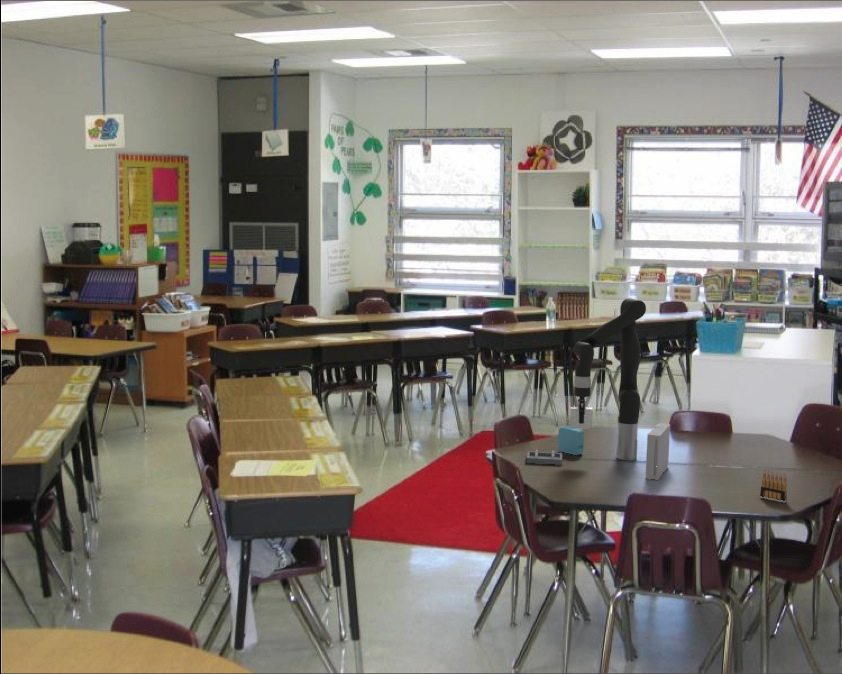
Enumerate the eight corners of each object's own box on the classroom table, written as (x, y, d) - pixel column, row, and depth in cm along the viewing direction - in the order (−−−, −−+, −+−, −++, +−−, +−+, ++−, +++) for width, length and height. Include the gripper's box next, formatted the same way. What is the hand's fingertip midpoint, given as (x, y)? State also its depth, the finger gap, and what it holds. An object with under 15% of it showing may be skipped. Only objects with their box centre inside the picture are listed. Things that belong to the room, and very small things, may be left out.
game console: (644, 479, 490) (646, 434, 487) (655, 465, 515) (657, 423, 512) (657, 480, 488) (660, 435, 485) (668, 466, 513) (670, 424, 510)
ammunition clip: (759, 498, 462) (761, 470, 461) (761, 497, 464) (763, 469, 462) (784, 503, 455) (786, 474, 454) (786, 502, 457) (788, 474, 455)
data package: (583, 454, 533) (584, 430, 531) (577, 456, 529) (578, 431, 528) (563, 450, 541) (564, 425, 540) (557, 451, 538) (558, 427, 537)
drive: (591, 426, 518) (592, 407, 516) (592, 428, 513) (592, 409, 512) (570, 425, 519) (570, 406, 518) (570, 427, 514) (570, 408, 513)
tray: (561, 458, 524) (562, 450, 523) (561, 465, 511) (562, 456, 510) (527, 457, 525) (527, 448, 525) (526, 463, 513) (526, 454, 512)
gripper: (591, 388, 506) (589, 425, 508) (590, 383, 520) (589, 419, 522) (574, 388, 507) (573, 425, 509) (574, 382, 521) (572, 418, 523)
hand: (581, 422), depth 516 cm, fingers closed on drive, 4 cm apart
